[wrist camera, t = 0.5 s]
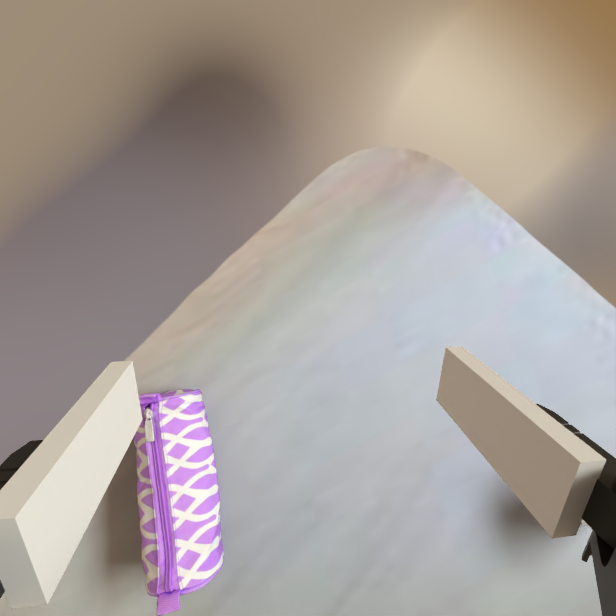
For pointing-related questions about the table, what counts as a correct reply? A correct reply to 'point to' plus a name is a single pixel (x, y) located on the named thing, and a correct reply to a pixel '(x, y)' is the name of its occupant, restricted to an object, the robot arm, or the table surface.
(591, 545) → the robot arm
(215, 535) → the pencil case
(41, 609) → the table surface
